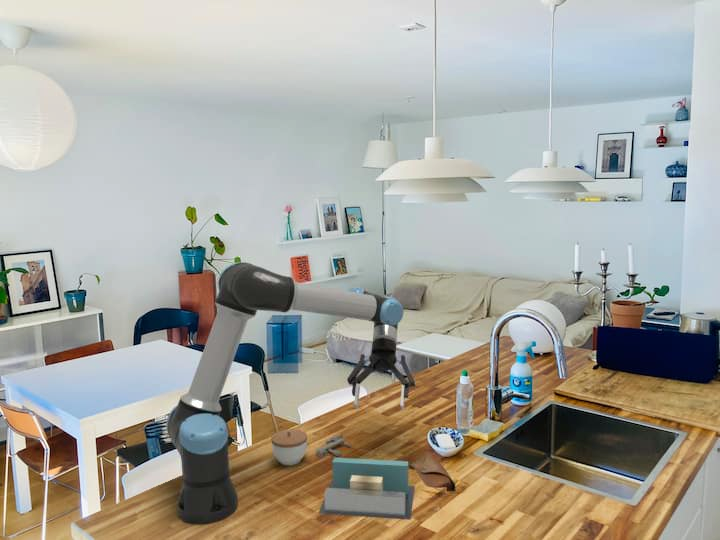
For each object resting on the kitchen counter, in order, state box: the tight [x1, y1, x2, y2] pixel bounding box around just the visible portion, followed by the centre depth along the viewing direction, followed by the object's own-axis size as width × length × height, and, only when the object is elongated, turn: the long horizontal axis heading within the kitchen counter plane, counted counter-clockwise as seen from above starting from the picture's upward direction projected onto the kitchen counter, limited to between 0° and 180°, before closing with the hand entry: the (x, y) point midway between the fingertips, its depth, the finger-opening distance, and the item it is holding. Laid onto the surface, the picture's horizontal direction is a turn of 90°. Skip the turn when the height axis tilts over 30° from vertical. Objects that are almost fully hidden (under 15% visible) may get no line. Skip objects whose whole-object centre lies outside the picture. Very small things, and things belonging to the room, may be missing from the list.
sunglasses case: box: [408, 451, 456, 492], centre depth 163 cm, size 18×7×7 cm, turn 13°
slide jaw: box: [331, 457, 410, 495], centre depth 154 cm, size 20×2×8 cm, turn 81°
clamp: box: [315, 432, 352, 459], centre depth 183 cm, size 15×2×10 cm
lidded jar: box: [270, 428, 308, 466], centre depth 175 cm, size 11×11×9 cm
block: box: [350, 475, 383, 491], centre depth 147 cm, size 8×3×7 cm, turn 81°
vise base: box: [318, 480, 416, 520], centre depth 150 cm, size 23×16×6 cm
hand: (378, 406), depth 168 cm, fingers open, 13 cm apart
